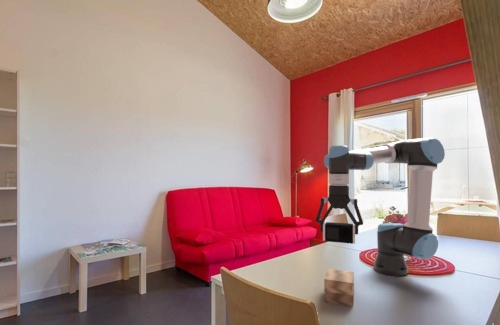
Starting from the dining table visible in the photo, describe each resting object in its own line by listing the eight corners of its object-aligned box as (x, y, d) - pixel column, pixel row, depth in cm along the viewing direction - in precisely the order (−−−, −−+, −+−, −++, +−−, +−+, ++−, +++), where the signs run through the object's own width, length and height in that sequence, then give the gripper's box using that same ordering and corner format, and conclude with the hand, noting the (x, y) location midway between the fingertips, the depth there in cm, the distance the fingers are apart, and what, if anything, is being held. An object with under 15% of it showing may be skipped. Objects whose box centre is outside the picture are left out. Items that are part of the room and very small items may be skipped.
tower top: (353, 283, 115) (353, 271, 115) (352, 295, 104) (352, 283, 104) (327, 279, 119) (327, 268, 119) (324, 291, 108) (324, 279, 108)
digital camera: (324, 242, 112) (324, 224, 112) (326, 238, 117) (325, 221, 117) (353, 244, 108) (352, 226, 108) (353, 241, 113) (352, 223, 114)
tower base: (354, 294, 115) (354, 283, 115) (353, 307, 104) (353, 295, 104) (328, 290, 119) (328, 279, 119) (325, 303, 108) (325, 290, 108)
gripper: (307, 184, 113) (307, 240, 113) (370, 186, 105) (371, 246, 105) (310, 183, 120) (310, 236, 120) (369, 185, 112) (370, 241, 112)
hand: (338, 241), depth 112 cm, fingers closed on digital camera, 10 cm apart
